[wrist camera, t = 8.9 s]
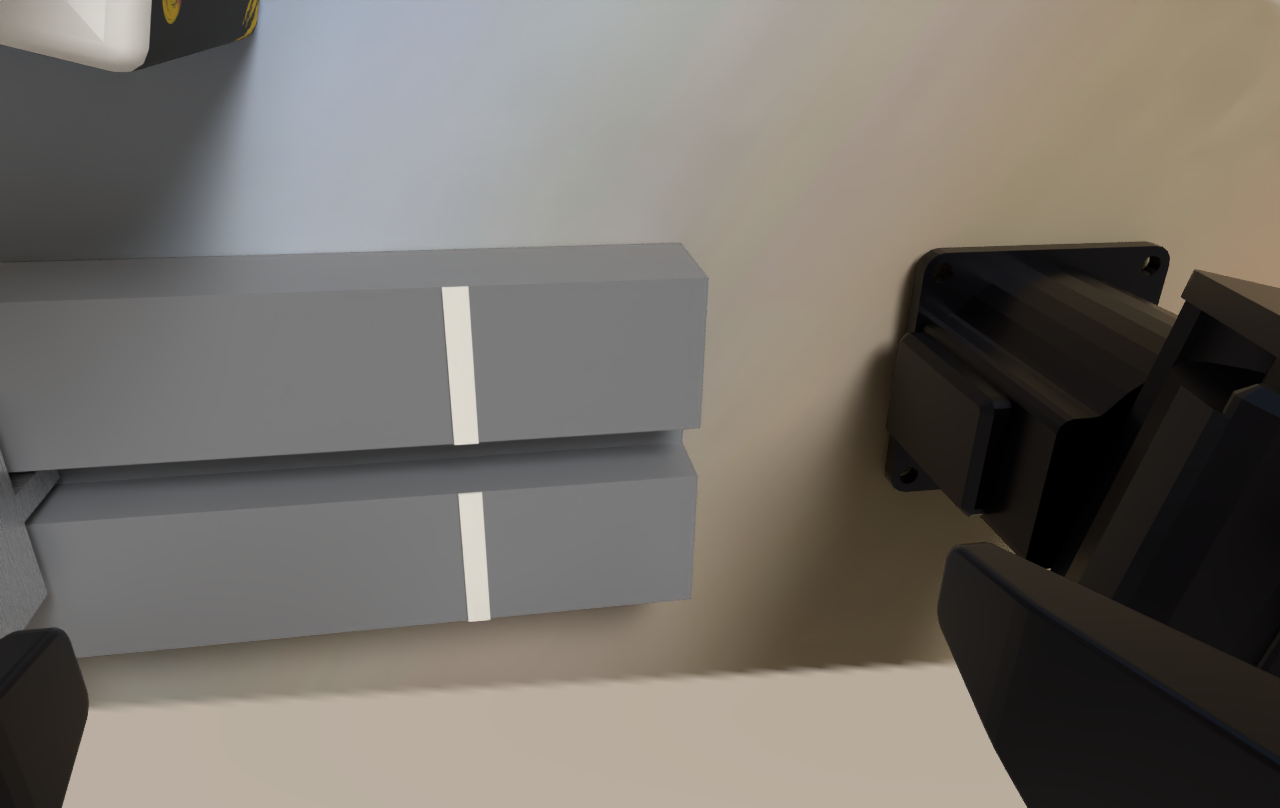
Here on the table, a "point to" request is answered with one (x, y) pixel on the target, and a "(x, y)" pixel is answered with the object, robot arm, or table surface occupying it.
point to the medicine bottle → (124, 29)
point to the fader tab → (20, 546)
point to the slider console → (352, 437)
